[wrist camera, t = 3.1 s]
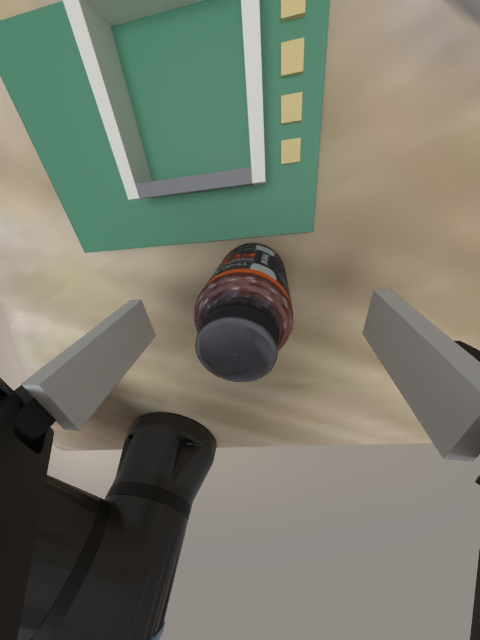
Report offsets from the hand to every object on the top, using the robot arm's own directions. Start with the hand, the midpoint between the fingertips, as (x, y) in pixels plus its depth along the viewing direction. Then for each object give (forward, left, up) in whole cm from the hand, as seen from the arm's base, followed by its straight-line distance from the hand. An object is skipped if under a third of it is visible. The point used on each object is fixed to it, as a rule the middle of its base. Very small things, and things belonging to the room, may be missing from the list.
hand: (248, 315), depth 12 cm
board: (-5, +10, -8) cm, 14 cm away
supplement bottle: (0, 0, -8) cm, 8 cm away
